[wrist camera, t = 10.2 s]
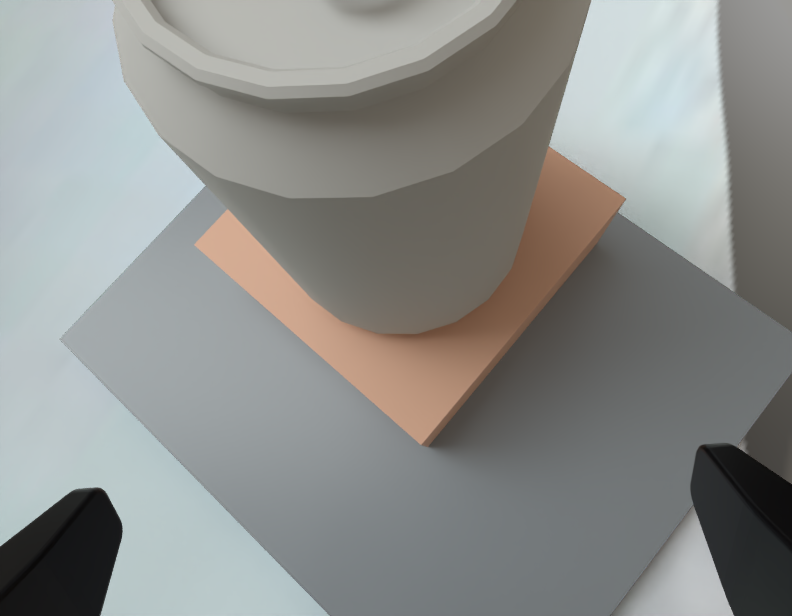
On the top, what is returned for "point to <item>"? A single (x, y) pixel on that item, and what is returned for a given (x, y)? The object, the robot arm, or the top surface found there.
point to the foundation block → (448, 345)
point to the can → (363, 135)
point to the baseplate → (446, 429)
